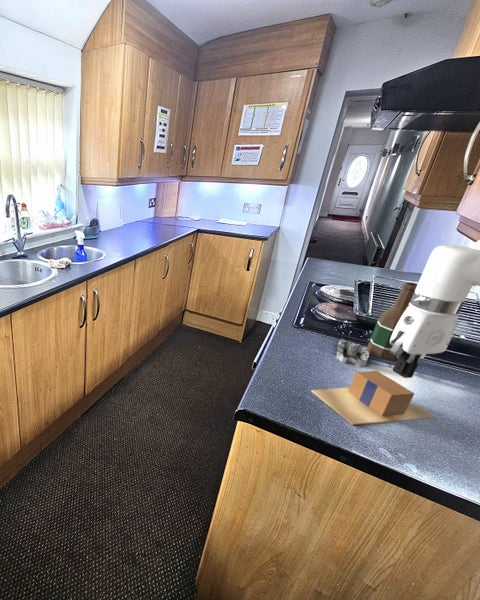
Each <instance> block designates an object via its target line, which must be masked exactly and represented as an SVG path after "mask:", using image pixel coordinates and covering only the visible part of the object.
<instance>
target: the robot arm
mask: <svg viewBox="0 0 480 600" xmlns="http://www.w3.org/2000/svg"><path fill="white" fill-rule="evenodd" d="M417 284H418V285H417V287H416V289H415V292H414V294H413V296H412V298H411V301H410V303H409V306H408V307H407V309H406V310H405V312H404V313H403V315H402V316H401V318H400V320H399V322H398V323H397V325H396V327H395V329H394V331H393V333H392V336H391V339H390V344H391V345H393V347H392V348H391V350H390V352H391V353H393V354H395V355H397V357H398V358H397V360H395V363H394V365H393V368H392V372H393V373H395V374H397V375H398V376H400V377H402V378H403V379H407V378H409V379H410V378H413V377H414V374H415V372H416V370H417V368H418V366H419V364H421V363H422V362H423V360H424V359H425V357H426V356H428V355H432V354H441V353H443V352H446V350H447V348H448V346H449V345H450V343H451V340H452V338H453V336H454V333H455V330H456V327H457V325H458V322H459V317H460V310H461V309H462V308H463V305H464V303H465V300H466V299H467V297H468V295H469V293H470V291H471V289H472V287H473V286H476V287H477V286H478V287H480V239H479V240H477V241H476V242H474V243H472V244H471V245H469V246H463V245H454V244H453V245H452V244H451V245H450V244H449V245H448V244H445V245H438V246H436V247H435V248H434V249H433V250H432V252H431V253H430V255H429V257H428V260H427V262H426V264H425V267H424V269H423V271H422V273H421V276H420V278H419V280H418V283H417Z"/></svg>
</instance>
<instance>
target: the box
mask: <svg viewBox="0 0 480 600" xmlns="http://www.w3.org/2000/svg"><path fill="white" fill-rule="evenodd" d="M348 388H349V390H348V392H349V393H351V394H352V395H353V396H355V397H356V398H358V399H359V400H360V401H361V402H363V403H364V404H365V405H367V406H369V407H370V408H371V409H373V410H374V411H376V412H377V413H378V414H380V415H381V416H388V415H401V414H404V413H405V411H406V409H407V407H408V406H409V404H410V403H411V401H412V400H413V398H414V396H415V392H413V391H412V390H409V388H407V387H404V386H403V385H402V384H400V383H398V382H397V381H395V380H393V379H392V378H390V377H388V376H386V375H385V374H383V373H381V372H380V371H378V370H367V371H365V370H364V371H355V373H354V375H353V378H352V380H351V382H350V385H349V387H348Z"/></svg>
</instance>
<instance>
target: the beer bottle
mask: <svg viewBox="0 0 480 600" xmlns="http://www.w3.org/2000/svg"><path fill="white" fill-rule="evenodd" d="M417 285H418V283H415V282H404V283H403V284H402V288H401V290H400V292H399V294H398V296H397V297H396V299H395V302H394V304H393V305H392V306H391V307H390V308H388V309H386V310H385V311H384V312H383V313H382V314H380V316H379V318H378V320H377V322H376V324H375V327H374V329H373V331H372V334H371V337H370V339H369V341H368V344H367V346H366V348H367V351H368V352H369V355H372V356H373V357H375V358H377V359H380V360H385V361H390V362H394V361H397V358H398V357H397V355H395V354H393V353H391V352H390V350H391V348H392V347H393V345H391V344H390V339H391V336H392V333H393V331H394V329H395V327H396V325H397V323H398V322H399V320H400V318H401V316H402V315H403V313H404V312H405V310H406V309H407V307H408V306H409V303H410V301H411V298H412V296H413V294H414V292H415V289H416V287H417Z"/></svg>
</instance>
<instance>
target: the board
mask: <svg viewBox="0 0 480 600" xmlns="http://www.w3.org/2000/svg"><path fill="white" fill-rule="evenodd" d="M348 390H349V387H337V388H336V387H335V388H324V389H312V390H311V391H310V392H311V393H313V394H314V395H315V396H316V397H317V398H319V399H320V400H321V401H322V402H323V403H325V404H326V405H327V406H329V408H331V409H332V410H333V411H334V412H336V413H337V414H338V415H339V416H341V417H342V419H344V420H345V421H346V422H348V423H349V424H350V425H351V426H359V425H370V424H371V425H372V424H382V423H395V422H402V421H413V420H423V419H429V418H437V417H438V416H437V415H435V414H433V413H432V412H430V411H429V410H427V409H425V408H424V407H422V406H418V405H416V404H413V403H411V402H410V404H409V406H408V407H407V409H406V411H405V413H404V414H401V415H388V416H381V415H380V414H378V413H377V412H376V411H374V410H373V409H371V408H370V407H369V406H367V405H365V404H364V403H363V402H361V401H360V400H359V399H358V398H356V397H355V396H353V395H352V394H351V393H349V392H348Z"/></svg>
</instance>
